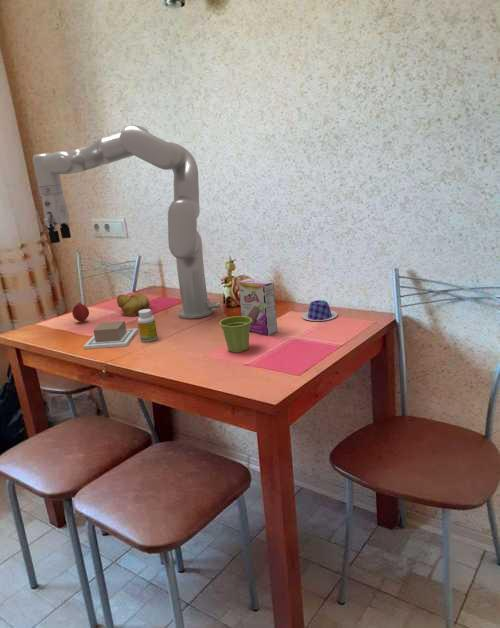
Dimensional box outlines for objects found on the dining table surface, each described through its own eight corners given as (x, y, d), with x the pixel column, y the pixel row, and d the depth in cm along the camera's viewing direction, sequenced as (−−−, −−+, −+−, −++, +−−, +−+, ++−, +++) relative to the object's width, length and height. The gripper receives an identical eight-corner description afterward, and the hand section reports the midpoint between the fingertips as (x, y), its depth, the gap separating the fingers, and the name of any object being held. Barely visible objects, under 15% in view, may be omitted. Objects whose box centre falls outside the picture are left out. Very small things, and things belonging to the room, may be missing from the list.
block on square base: (138, 331, 174) (135, 317, 172) (126, 346, 160) (124, 331, 159) (98, 334, 175) (95, 320, 173) (83, 349, 161) (80, 334, 160)
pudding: (345, 316, 169) (344, 301, 168) (317, 325, 163) (316, 310, 162) (321, 309, 179) (320, 295, 177) (294, 317, 173) (293, 303, 171)
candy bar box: (241, 330, 164) (236, 281, 159) (252, 326, 168) (247, 277, 163) (268, 336, 157) (263, 285, 152) (278, 331, 160) (274, 281, 155)
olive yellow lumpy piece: (143, 306, 204) (140, 286, 201) (159, 309, 197) (155, 289, 195) (116, 315, 195) (113, 295, 192) (132, 318, 188) (128, 298, 186)
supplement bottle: (149, 343, 161) (145, 314, 158) (137, 341, 164) (132, 312, 161) (161, 337, 165) (156, 308, 162) (148, 335, 168) (144, 307, 165)
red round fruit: (80, 325, 186) (76, 304, 183) (71, 323, 189) (67, 303, 187) (93, 320, 190) (89, 300, 188) (84, 319, 193) (80, 298, 191)
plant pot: (223, 344, 154) (220, 317, 151) (254, 341, 154) (252, 314, 151) (221, 356, 145) (217, 327, 143) (254, 353, 145) (251, 325, 142)
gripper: (51, 191, 166) (61, 243, 172) (71, 188, 183) (80, 235, 188) (29, 194, 167) (40, 245, 172) (51, 190, 183) (60, 237, 189)
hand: (61, 240), depth 180 cm, fingers open, 9 cm apart
